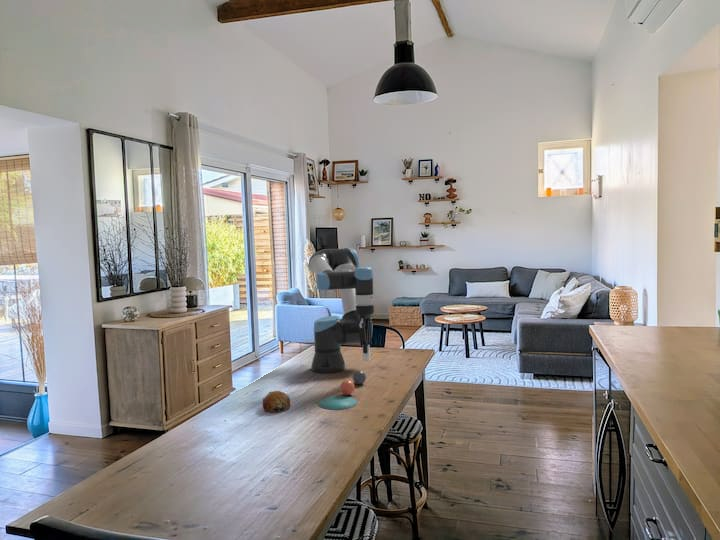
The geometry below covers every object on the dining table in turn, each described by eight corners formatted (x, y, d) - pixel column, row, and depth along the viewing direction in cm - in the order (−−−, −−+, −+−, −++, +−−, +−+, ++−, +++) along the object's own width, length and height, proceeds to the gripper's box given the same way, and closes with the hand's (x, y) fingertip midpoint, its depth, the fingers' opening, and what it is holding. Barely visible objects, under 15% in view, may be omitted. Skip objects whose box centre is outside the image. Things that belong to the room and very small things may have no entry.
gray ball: (350, 384, 215) (349, 370, 215) (360, 381, 218) (360, 368, 218) (358, 386, 211) (358, 373, 210) (369, 384, 214) (368, 370, 214)
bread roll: (292, 415, 191) (293, 392, 194) (286, 412, 182) (287, 388, 185) (265, 415, 192) (267, 392, 195) (257, 412, 183) (259, 388, 186)
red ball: (337, 394, 202) (336, 380, 201) (348, 391, 205) (348, 377, 205) (346, 397, 198) (345, 383, 197) (357, 394, 201) (357, 380, 201)
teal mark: (310, 402, 193) (310, 402, 193) (341, 394, 202) (341, 393, 202) (333, 412, 182) (333, 411, 182) (365, 403, 191) (365, 402, 191)
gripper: (368, 306, 214) (370, 364, 215) (377, 302, 226) (379, 357, 227) (350, 306, 216) (352, 363, 218) (361, 302, 228) (363, 356, 230)
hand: (366, 360), depth 223 cm, fingers closed
